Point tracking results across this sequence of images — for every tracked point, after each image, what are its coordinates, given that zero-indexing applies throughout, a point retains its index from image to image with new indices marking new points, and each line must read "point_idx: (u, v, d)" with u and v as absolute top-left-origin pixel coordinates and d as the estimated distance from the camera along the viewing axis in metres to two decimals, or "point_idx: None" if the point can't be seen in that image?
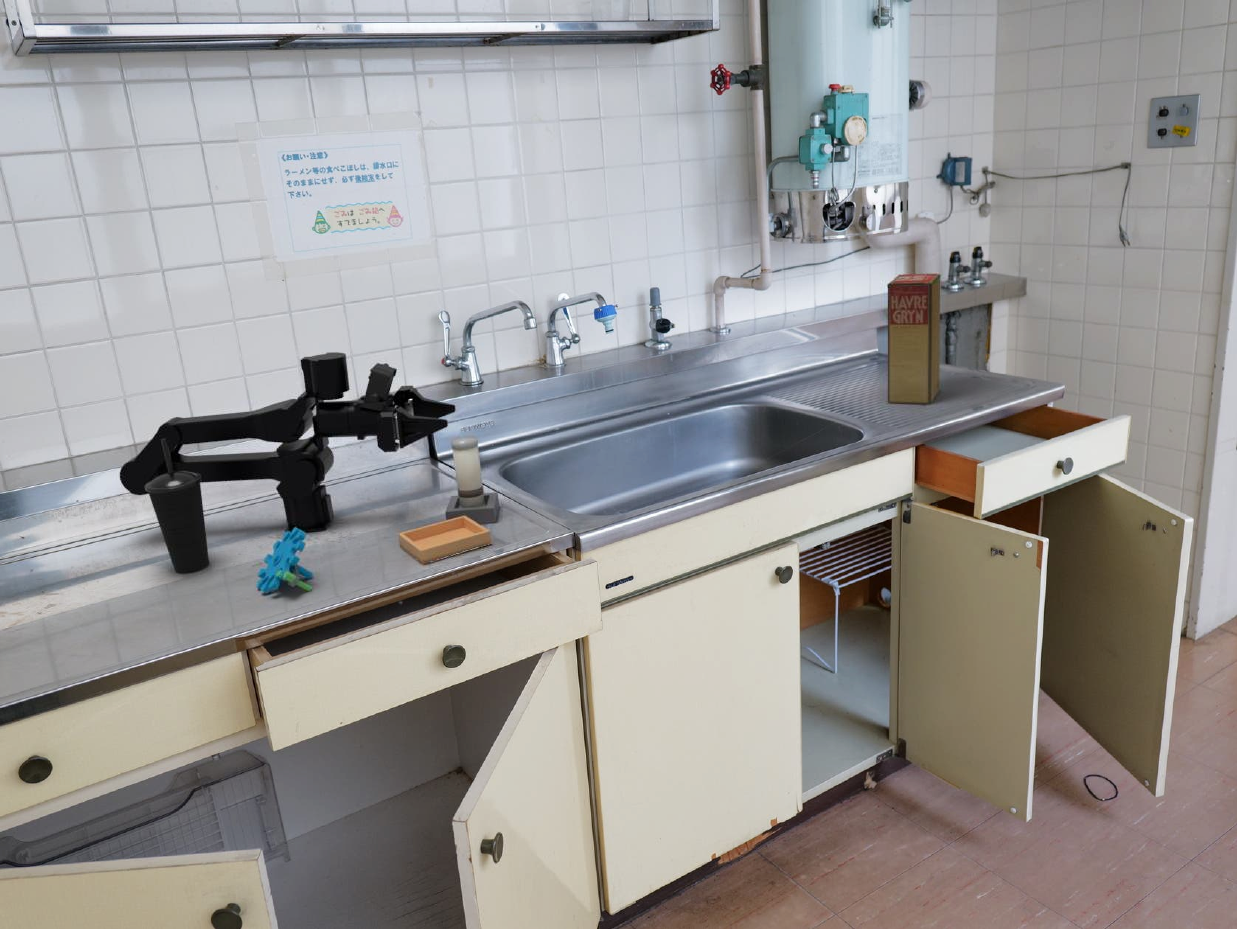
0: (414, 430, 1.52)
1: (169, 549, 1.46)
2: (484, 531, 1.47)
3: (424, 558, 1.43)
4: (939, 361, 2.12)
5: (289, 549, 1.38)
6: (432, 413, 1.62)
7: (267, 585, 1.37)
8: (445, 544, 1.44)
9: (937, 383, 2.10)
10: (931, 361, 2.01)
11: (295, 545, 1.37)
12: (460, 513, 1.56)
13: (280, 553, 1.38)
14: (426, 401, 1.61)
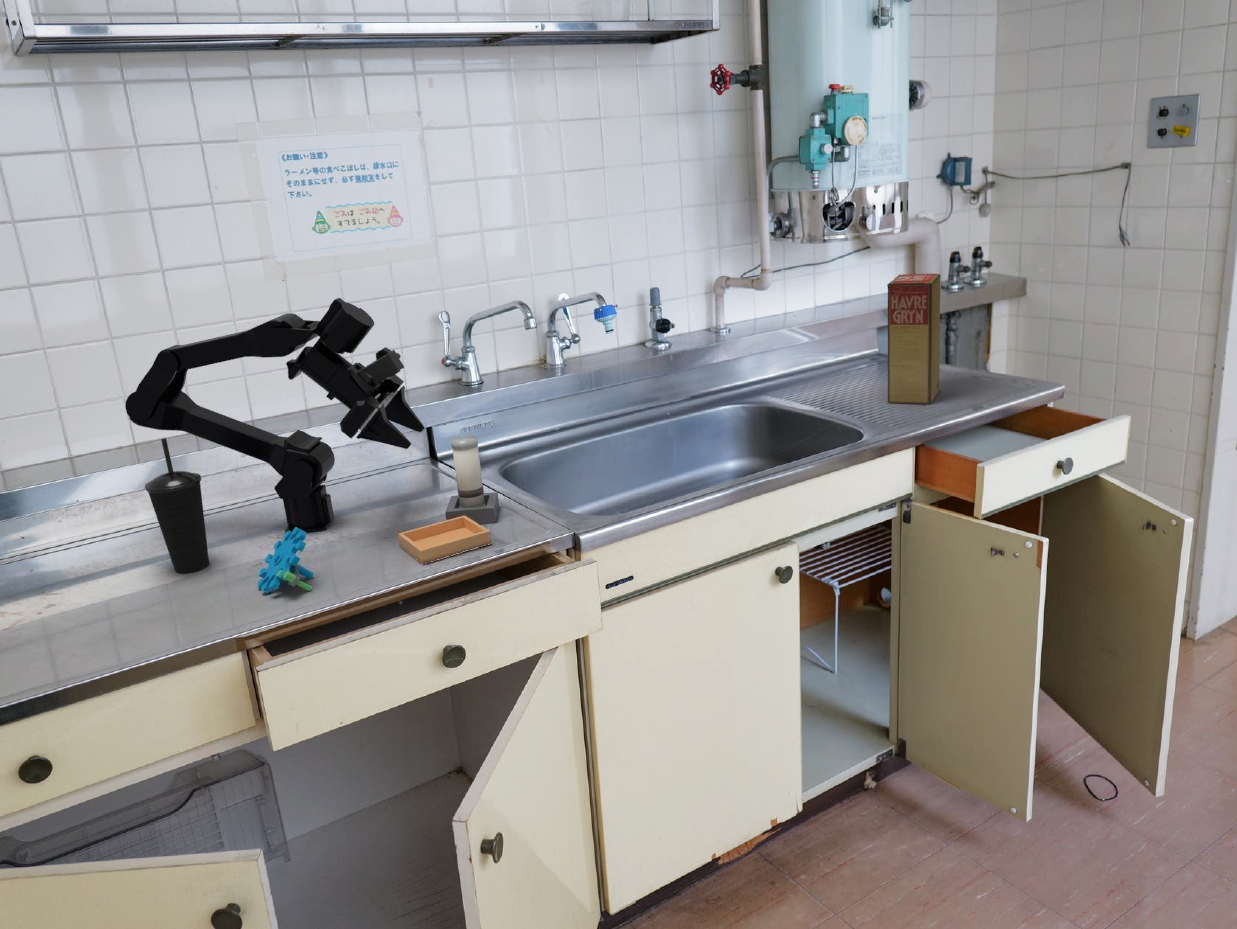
0: (378, 431, 1.51)
1: (169, 549, 1.46)
2: (484, 531, 1.47)
3: (424, 558, 1.43)
4: (939, 361, 2.12)
5: (289, 548, 1.38)
6: (401, 418, 1.61)
7: (267, 585, 1.37)
8: (445, 544, 1.44)
9: (937, 383, 2.10)
10: (931, 361, 2.01)
11: (295, 545, 1.37)
12: (460, 513, 1.56)
13: (281, 553, 1.38)
14: (405, 406, 1.60)
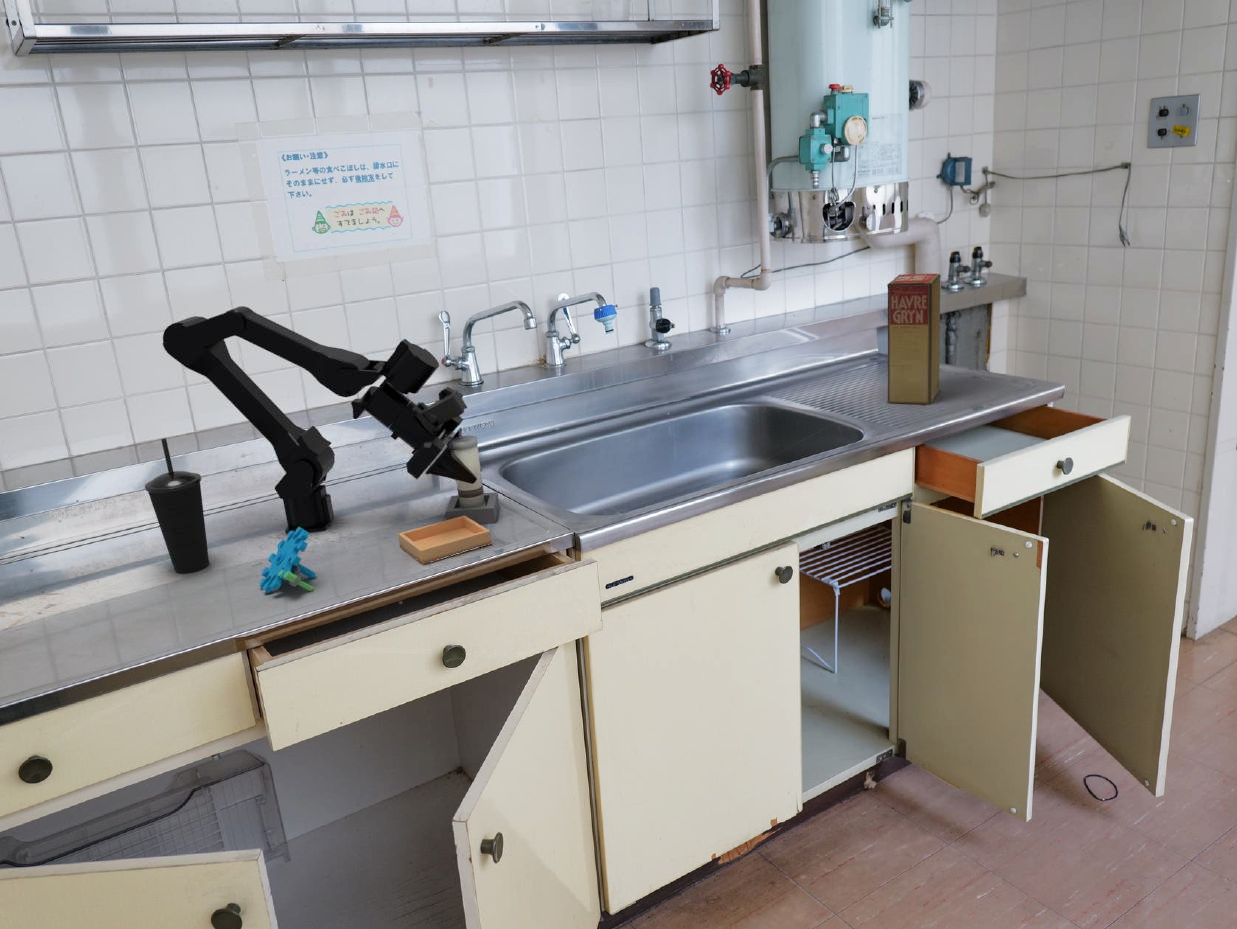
0: (446, 467, 1.54)
1: (169, 549, 1.46)
2: (484, 531, 1.47)
3: (424, 558, 1.43)
4: (939, 361, 2.12)
5: (291, 548, 1.38)
6: None
7: (269, 584, 1.37)
8: (445, 544, 1.44)
9: (937, 383, 2.10)
10: (931, 361, 2.01)
11: (297, 545, 1.37)
12: (460, 513, 1.56)
13: (283, 553, 1.39)
14: None
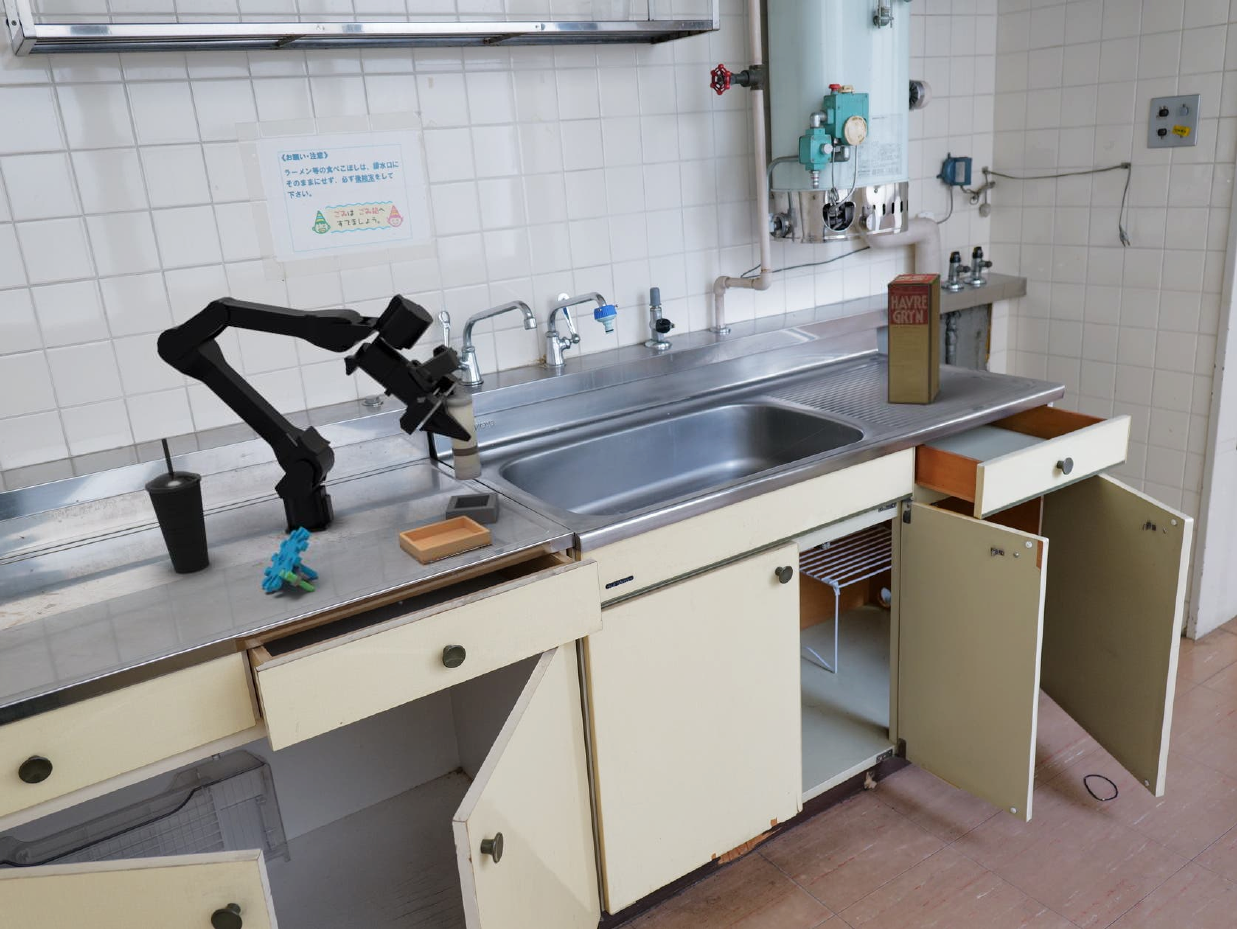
0: (440, 424, 1.52)
1: (169, 549, 1.46)
2: (484, 531, 1.47)
3: (424, 558, 1.43)
4: (939, 361, 2.12)
5: (293, 548, 1.38)
6: None
7: (270, 584, 1.37)
8: (445, 544, 1.44)
9: (937, 383, 2.10)
10: (931, 361, 2.01)
11: (299, 545, 1.37)
12: (460, 513, 1.56)
13: (285, 552, 1.39)
14: None
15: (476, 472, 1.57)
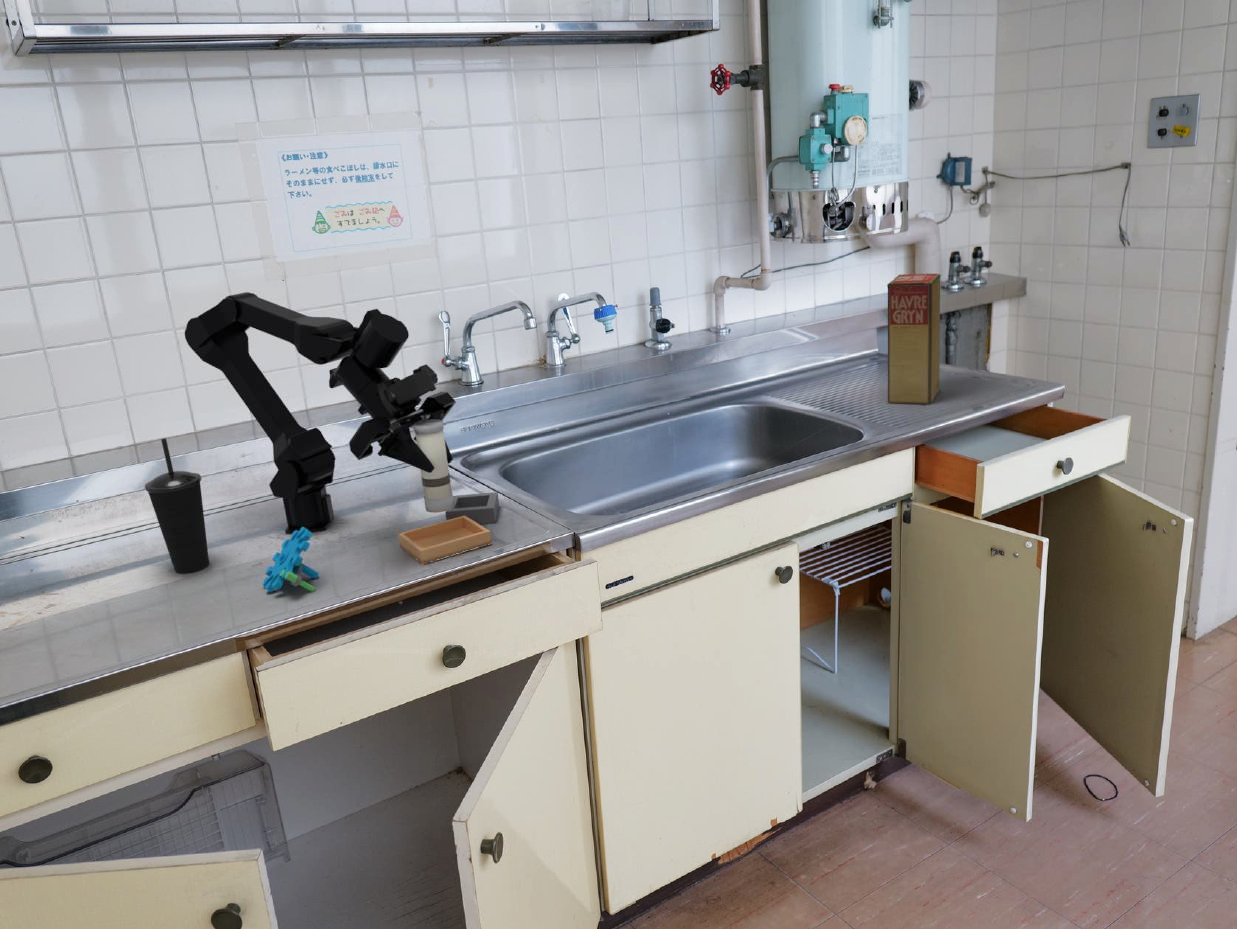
0: (402, 451, 1.43)
1: (169, 549, 1.46)
2: (484, 531, 1.47)
3: (424, 558, 1.43)
4: (939, 361, 2.12)
5: (294, 548, 1.38)
6: None
7: (271, 584, 1.37)
8: (445, 544, 1.44)
9: (937, 383, 2.10)
10: (931, 361, 2.01)
11: (300, 545, 1.37)
12: (460, 513, 1.56)
13: (286, 552, 1.39)
14: None
15: (442, 505, 1.45)
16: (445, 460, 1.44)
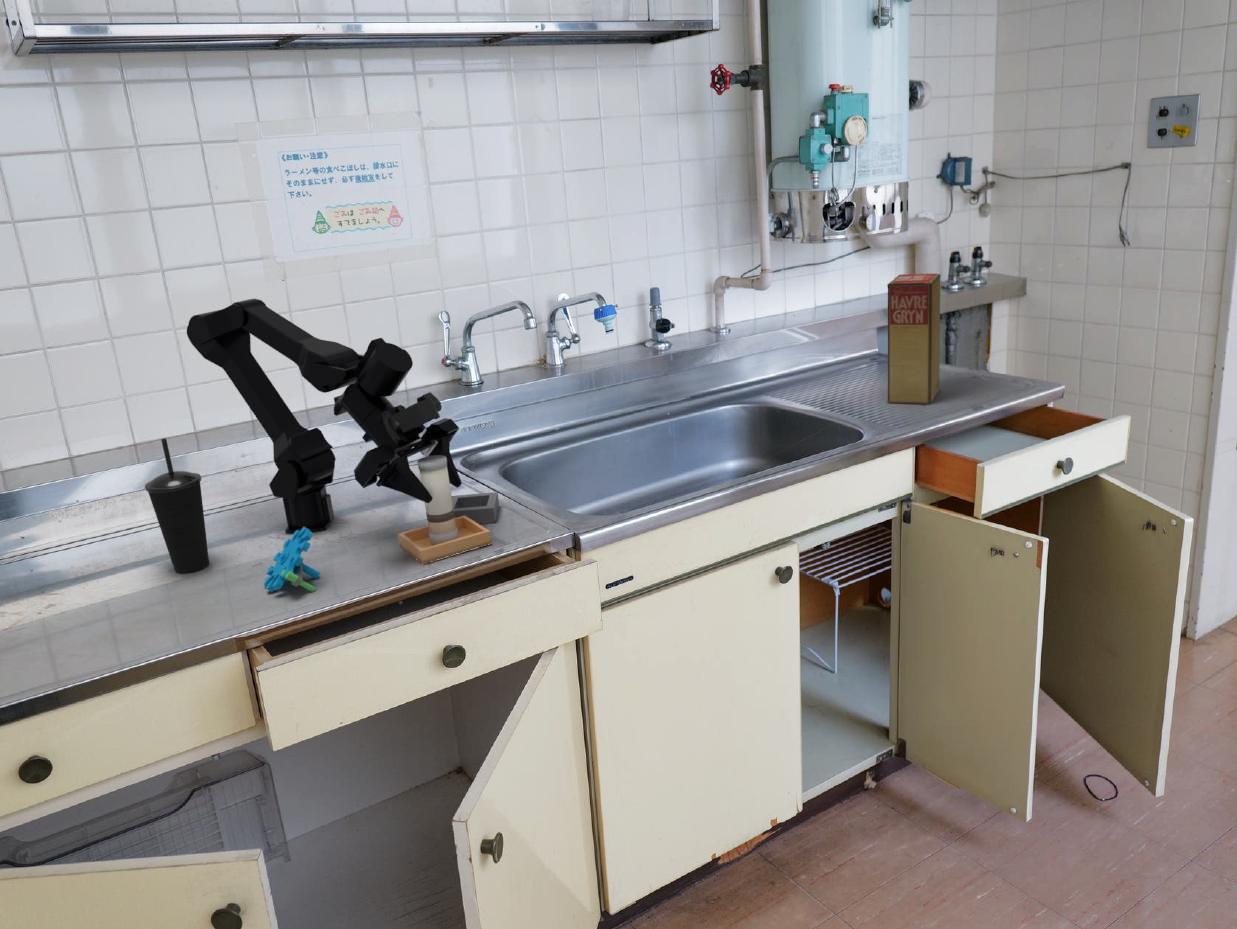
0: (400, 481, 1.43)
1: (169, 549, 1.46)
2: (484, 531, 1.47)
3: (424, 558, 1.43)
4: (939, 361, 2.12)
5: (295, 548, 1.38)
6: None
7: (272, 584, 1.37)
8: (445, 544, 1.44)
9: (937, 383, 2.10)
10: (931, 361, 2.01)
11: (300, 545, 1.37)
12: (460, 513, 1.56)
13: (287, 552, 1.39)
14: None
15: (447, 540, 1.47)
16: (449, 496, 1.46)
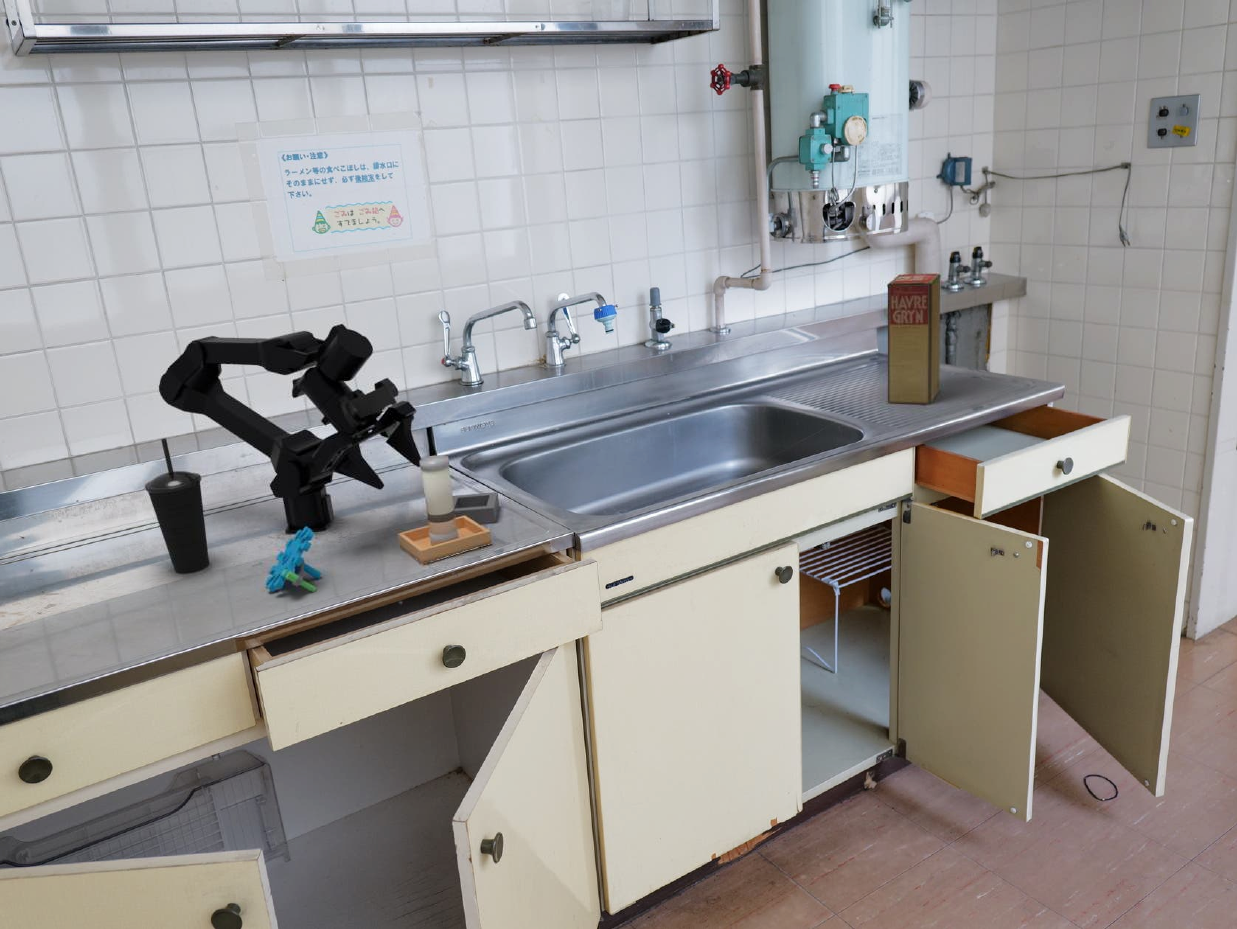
0: (353, 468, 1.47)
1: (169, 549, 1.46)
2: (484, 531, 1.47)
3: (424, 558, 1.43)
4: (939, 361, 2.12)
5: (296, 548, 1.38)
6: (403, 449, 1.56)
7: (273, 583, 1.37)
8: (445, 544, 1.44)
9: (937, 383, 2.10)
10: (931, 361, 2.01)
11: (301, 545, 1.37)
12: (460, 513, 1.56)
13: (289, 552, 1.39)
14: (406, 438, 1.54)
15: (447, 540, 1.47)
16: (450, 496, 1.46)
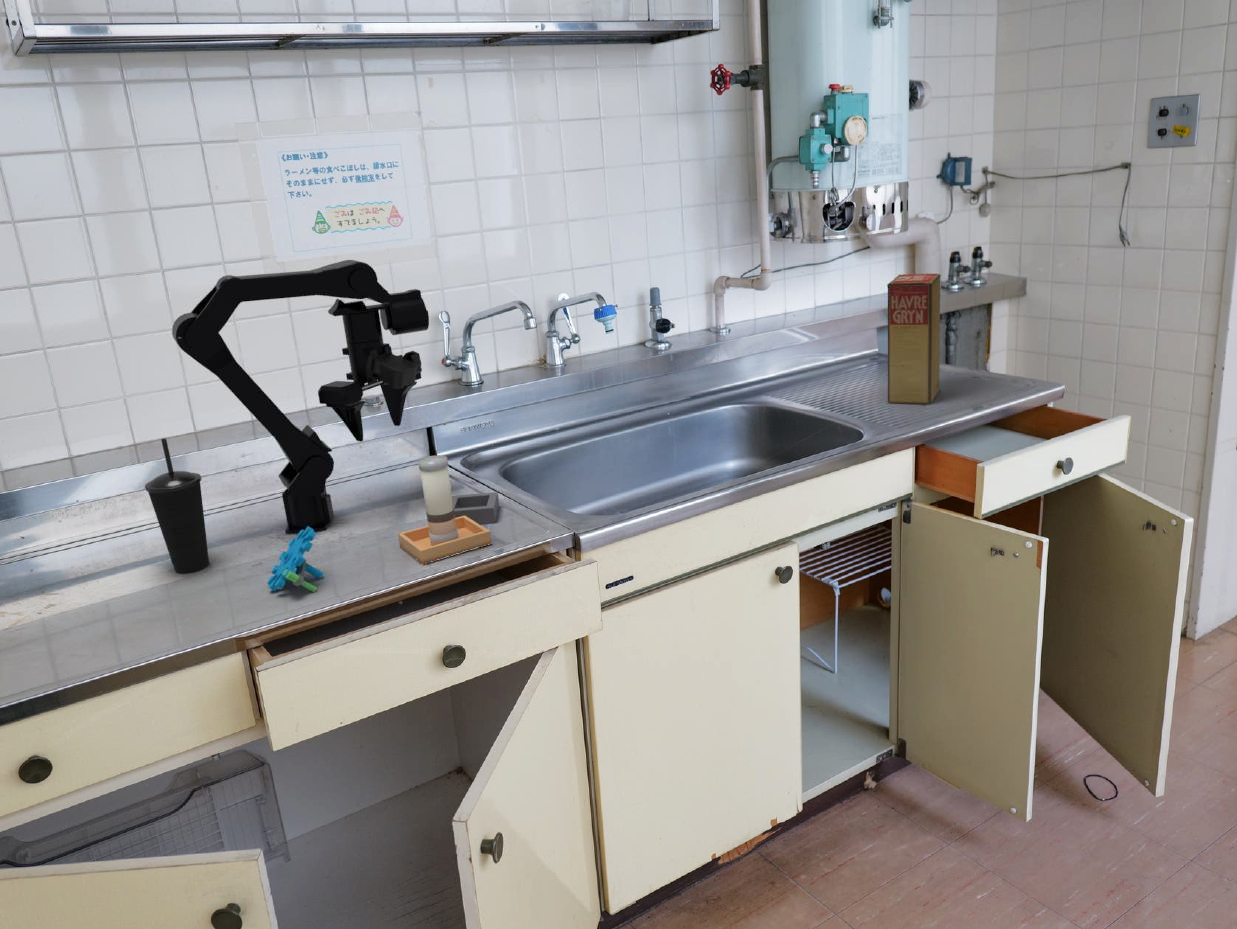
0: (346, 413, 1.58)
1: (169, 549, 1.46)
2: (484, 531, 1.47)
3: (424, 558, 1.43)
4: (939, 361, 2.12)
5: (298, 548, 1.38)
6: (391, 403, 1.67)
7: (275, 583, 1.37)
8: (445, 544, 1.44)
9: (937, 383, 2.10)
10: (931, 361, 2.01)
11: (303, 545, 1.37)
12: (460, 513, 1.56)
13: (290, 552, 1.39)
14: (400, 399, 1.66)
15: (447, 540, 1.47)
16: (450, 496, 1.46)
